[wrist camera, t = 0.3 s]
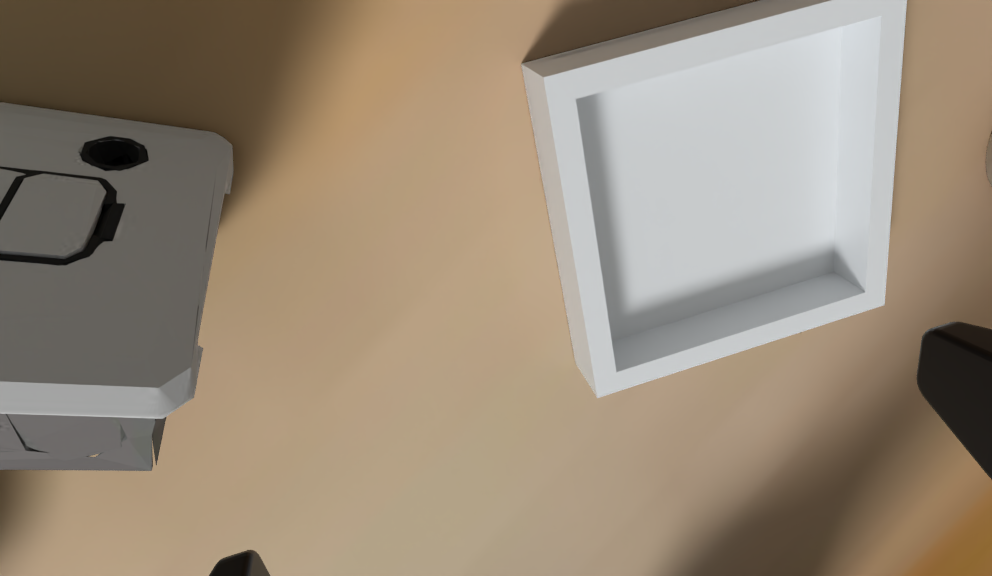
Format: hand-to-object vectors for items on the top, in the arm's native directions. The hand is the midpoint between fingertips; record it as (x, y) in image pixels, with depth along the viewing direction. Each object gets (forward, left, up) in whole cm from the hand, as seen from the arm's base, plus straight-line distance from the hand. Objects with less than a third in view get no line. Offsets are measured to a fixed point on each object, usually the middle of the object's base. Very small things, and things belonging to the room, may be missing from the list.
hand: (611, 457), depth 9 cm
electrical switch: (+1, +10, -15) cm, 18 cm away
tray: (-4, -9, -14) cm, 17 cm away
